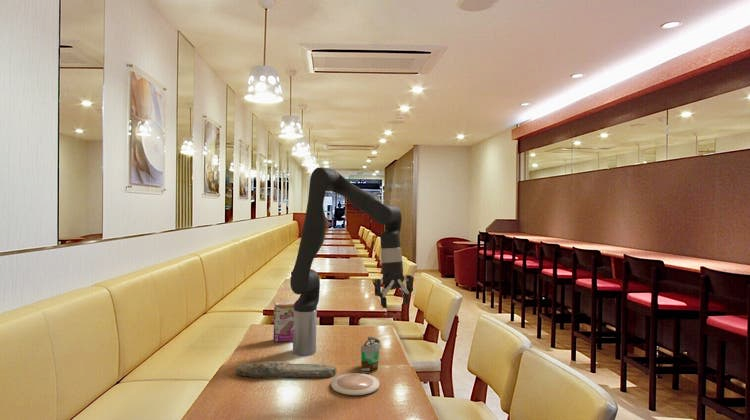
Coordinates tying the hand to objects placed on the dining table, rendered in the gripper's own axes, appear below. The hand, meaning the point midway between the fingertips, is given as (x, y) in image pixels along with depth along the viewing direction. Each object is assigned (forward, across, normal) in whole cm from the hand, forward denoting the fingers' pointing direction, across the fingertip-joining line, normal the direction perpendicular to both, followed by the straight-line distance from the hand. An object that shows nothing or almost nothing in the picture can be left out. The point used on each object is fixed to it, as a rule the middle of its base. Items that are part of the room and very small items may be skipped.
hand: (395, 306), depth 158 cm
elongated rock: (+21, +36, -18) cm, 45 cm away
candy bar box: (+18, +26, -55) cm, 63 cm away
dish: (+24, +18, +2) cm, 30 cm away
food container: (+23, +6, -10) cm, 26 cm away
